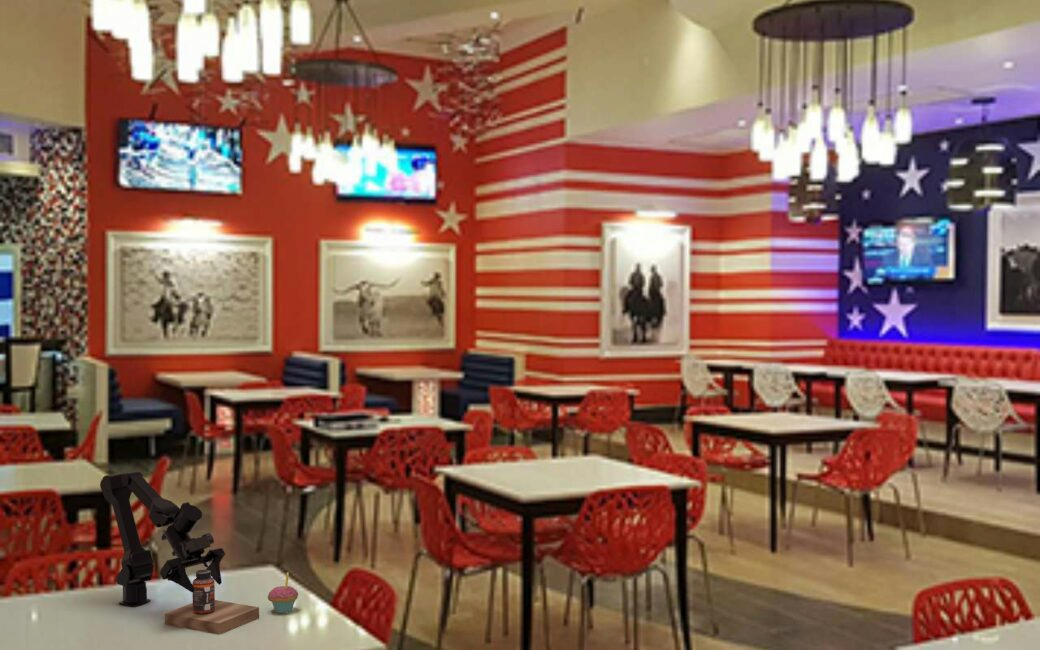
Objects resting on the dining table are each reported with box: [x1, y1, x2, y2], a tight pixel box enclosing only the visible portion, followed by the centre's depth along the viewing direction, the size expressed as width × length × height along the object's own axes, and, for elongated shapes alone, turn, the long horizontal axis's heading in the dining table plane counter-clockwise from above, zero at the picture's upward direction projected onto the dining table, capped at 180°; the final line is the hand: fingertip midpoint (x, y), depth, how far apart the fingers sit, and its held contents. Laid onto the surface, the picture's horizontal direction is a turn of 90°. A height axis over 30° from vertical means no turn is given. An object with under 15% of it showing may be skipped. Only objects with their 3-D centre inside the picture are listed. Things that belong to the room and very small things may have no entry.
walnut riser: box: [163, 599, 260, 635], centre depth 300 cm, size 20×16×3 cm
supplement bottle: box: [191, 569, 216, 614], centre depth 299 cm, size 6×6×11 cm
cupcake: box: [267, 570, 299, 614], centre depth 309 cm, size 9×8×12 cm
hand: (207, 587), depth 298 cm, fingers open, 9 cm apart
